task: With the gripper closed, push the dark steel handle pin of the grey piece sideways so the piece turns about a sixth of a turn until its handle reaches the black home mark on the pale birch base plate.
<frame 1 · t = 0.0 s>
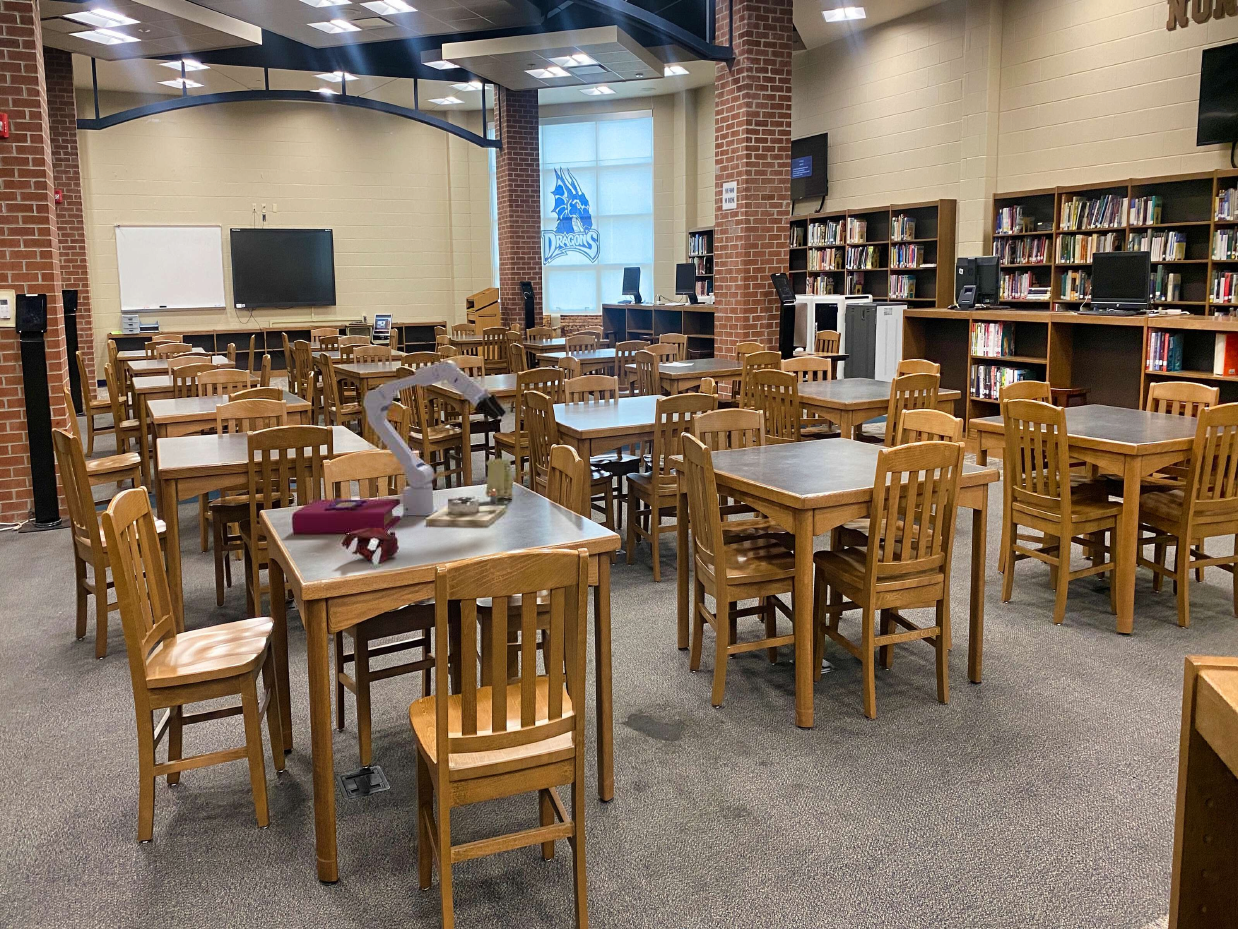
hand: (500, 416, 311), 32 cm above the table, tool tilted 50°, fingers open, 7 cm apart
base plate: (467, 518, 312), on the table
mechanical component: (500, 500, 340), on the table
dark red lumpy piece: (371, 560, 264), on the table
grey piece: (473, 501, 312), point 5 cm above the table, hinge at 0.0°
book: (349, 528, 303), on the table
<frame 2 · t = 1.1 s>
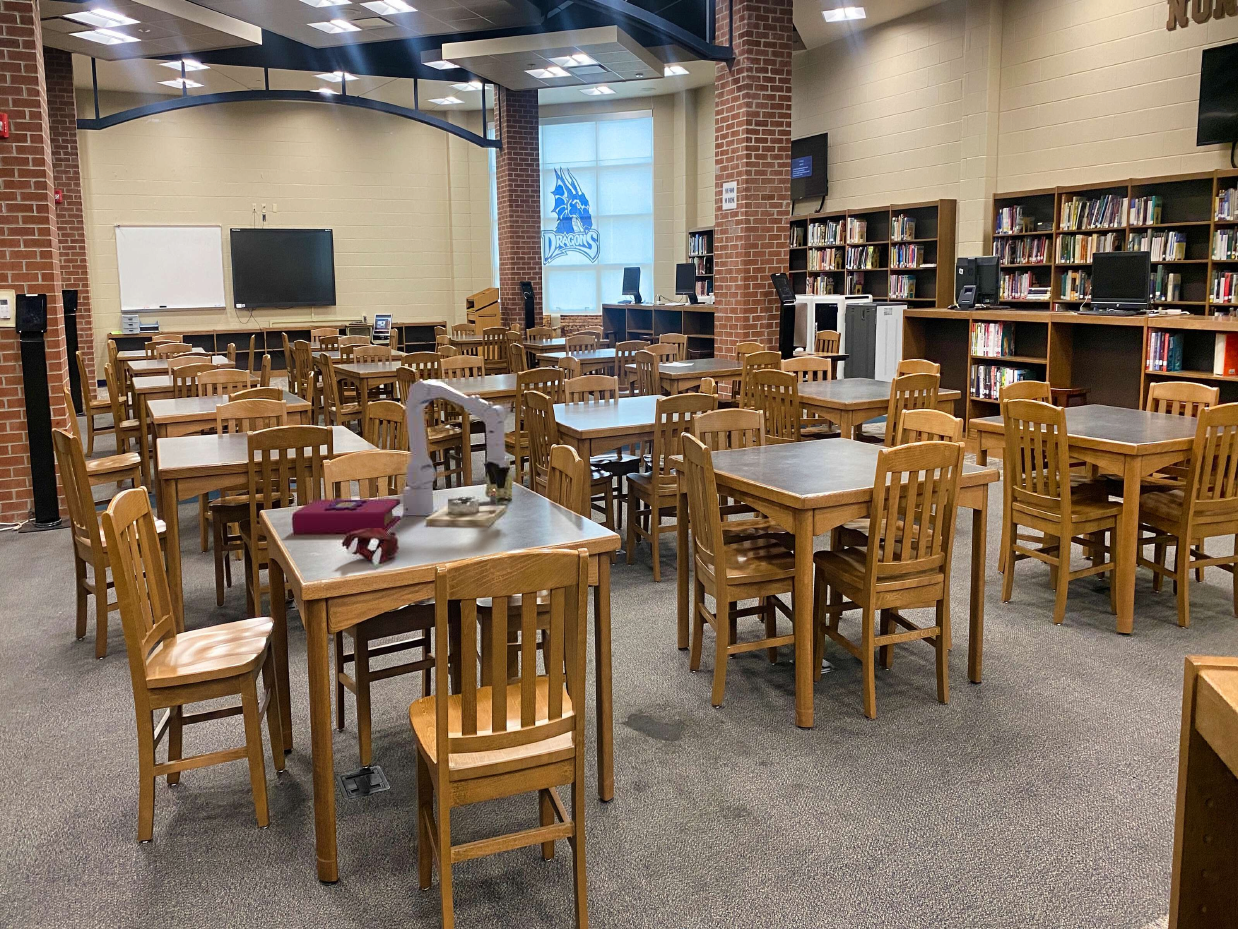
hand: (497, 486, 309), 10 cm above the table, tool pointing down, fingers open, 7 cm apart
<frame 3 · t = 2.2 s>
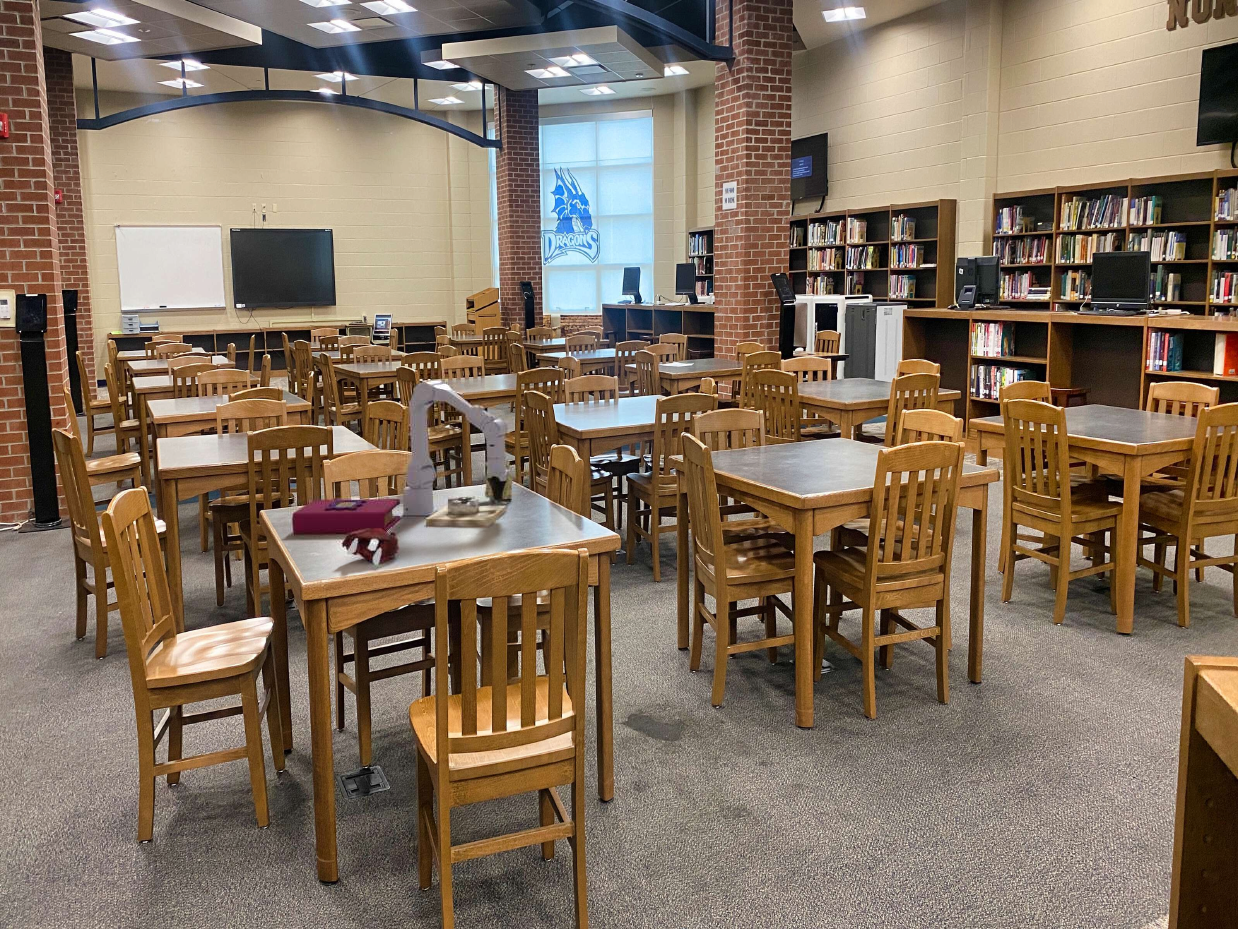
hand: (497, 499, 310), 6 cm above the table, tool pointing down, fingers closed
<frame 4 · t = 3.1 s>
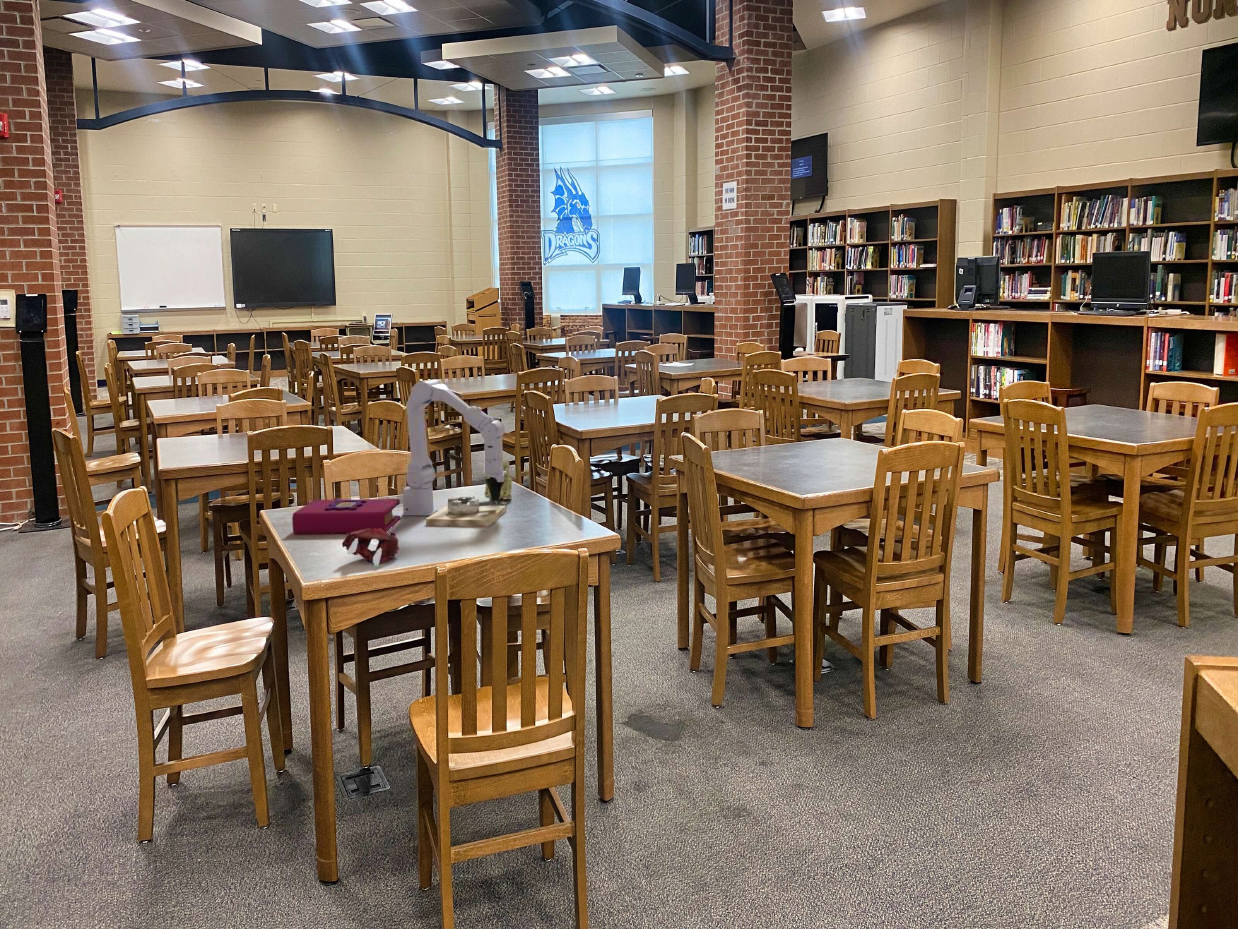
hand: (495, 500, 312), 5 cm above the table, tool pointing down, fingers closed
grey piece: (473, 501, 312), point 5 cm above the table, hinge at 0.0°, touching gripper
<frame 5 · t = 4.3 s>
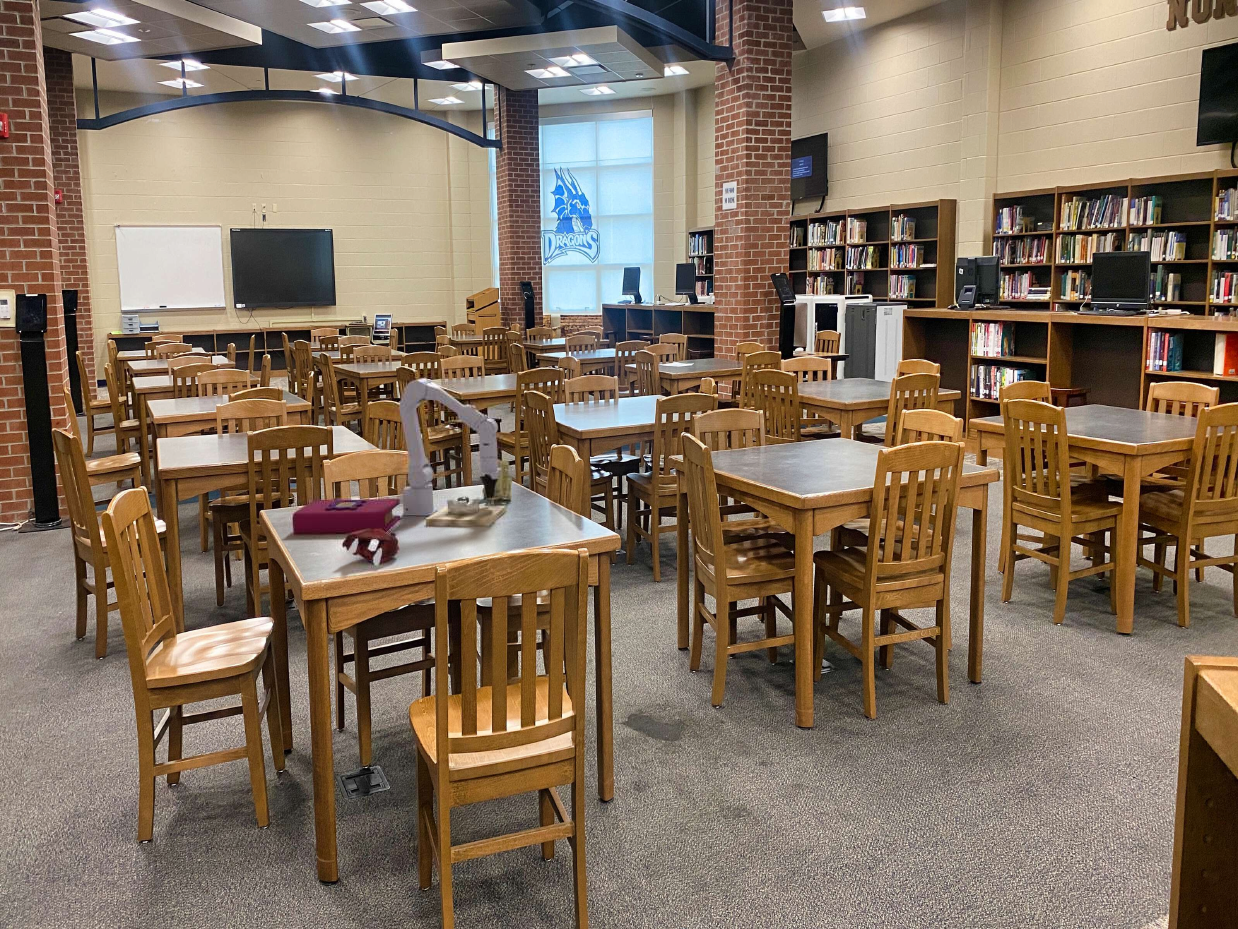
hand: (489, 497, 317), 5 cm above the table, tool pointing down, fingers closed, pressing on grey piece
grey piece: (470, 500, 313), point 5 cm above the table, hinge at 29.1°, touching gripper
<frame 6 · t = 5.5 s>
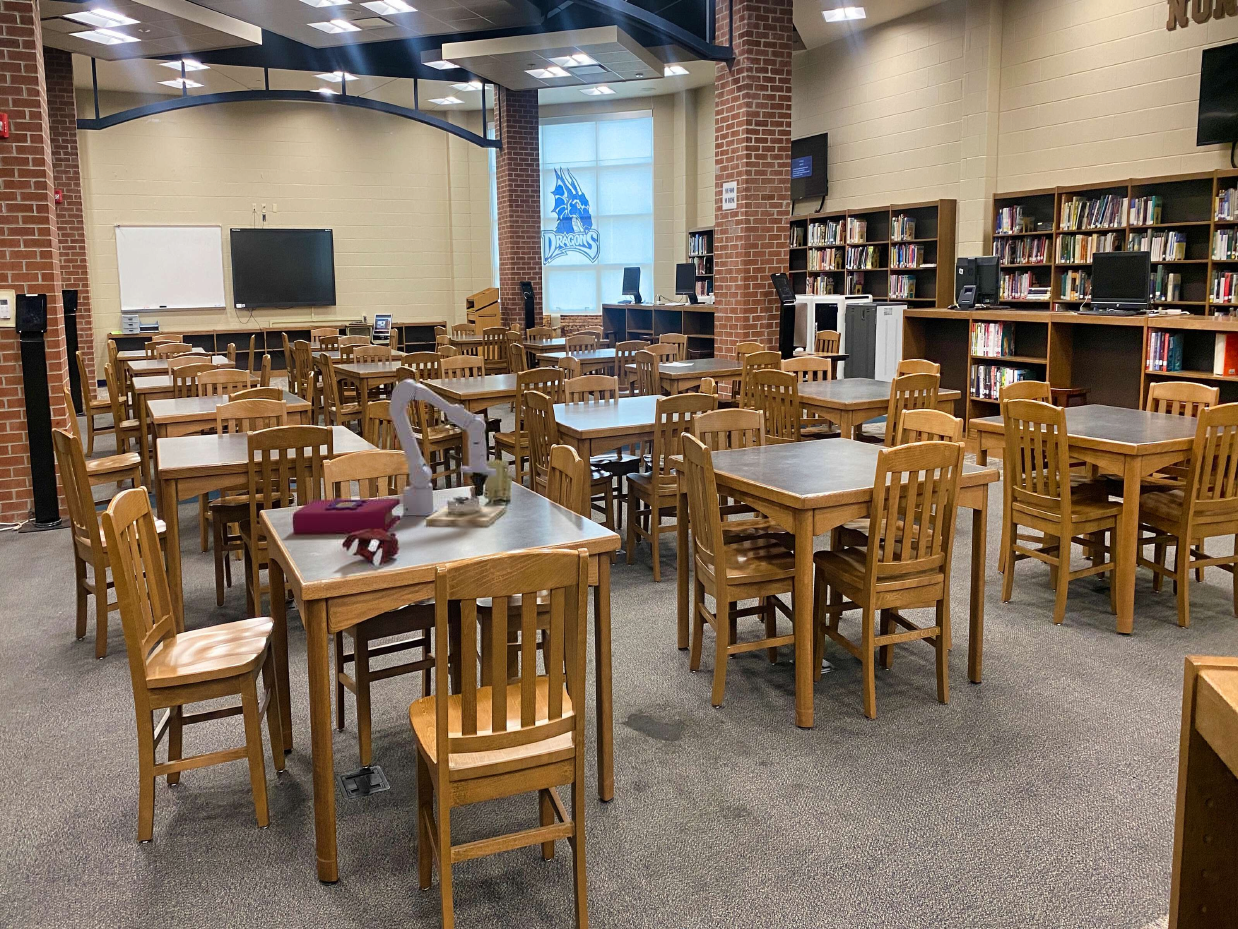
hand: (479, 495, 320), 5 cm above the table, tool pointing down, fingers closed, pressing on grey piece
grey piece: (466, 500, 314), point 5 cm above the table, hinge at 57.0°, touching gripper
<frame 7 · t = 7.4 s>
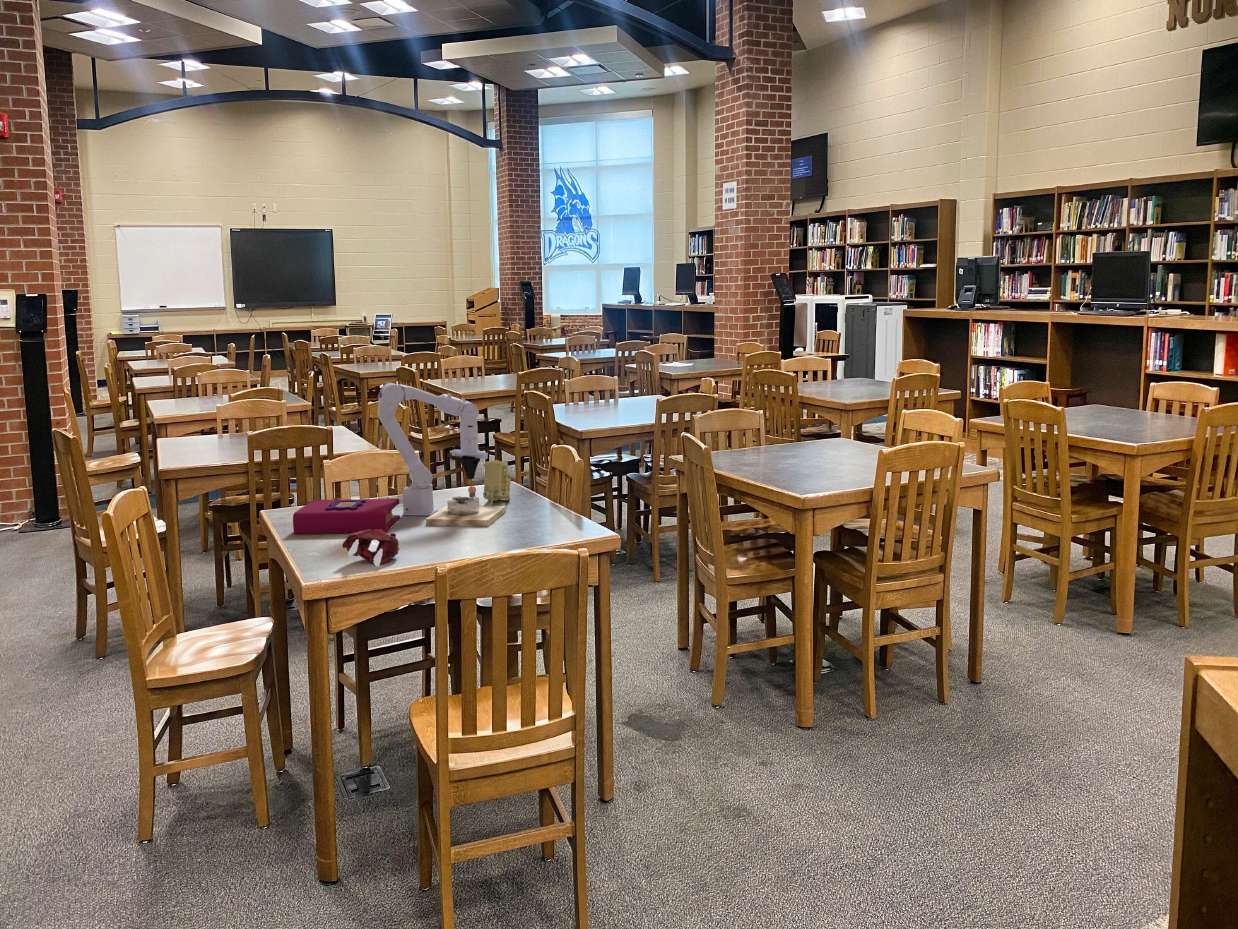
hand: (470, 478, 324), 10 cm above the table, tool pointing down, fingers closed
grey piece: (466, 499, 314), point 5 cm above the table, hinge at 60.5°
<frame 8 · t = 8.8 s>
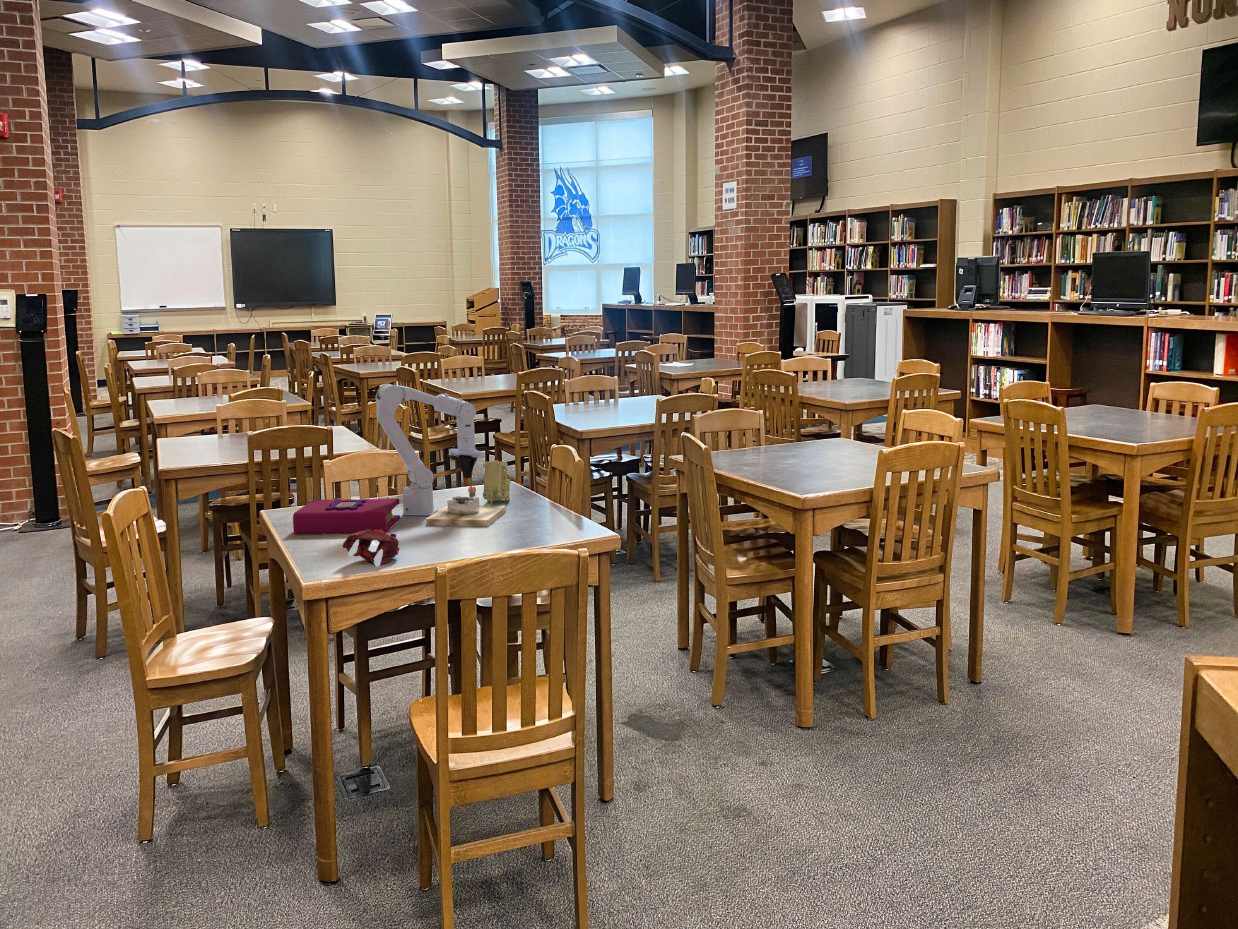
hand: (467, 477, 325), 10 cm above the table, tool pointing down, fingers closed
at the end: grey piece at +60° (first picture: +0°) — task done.
